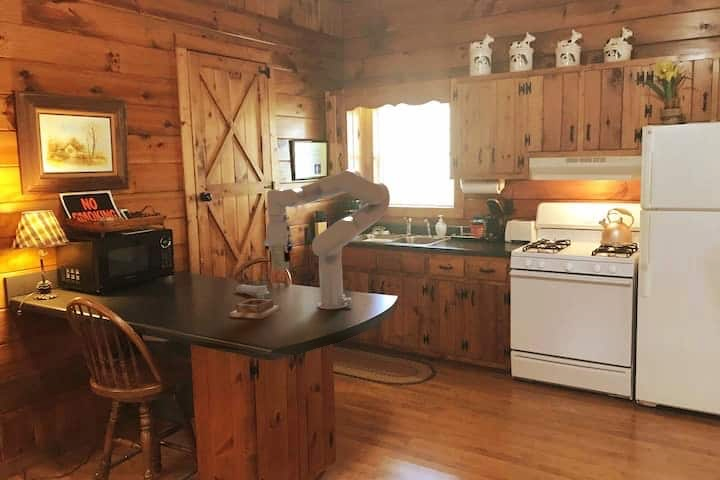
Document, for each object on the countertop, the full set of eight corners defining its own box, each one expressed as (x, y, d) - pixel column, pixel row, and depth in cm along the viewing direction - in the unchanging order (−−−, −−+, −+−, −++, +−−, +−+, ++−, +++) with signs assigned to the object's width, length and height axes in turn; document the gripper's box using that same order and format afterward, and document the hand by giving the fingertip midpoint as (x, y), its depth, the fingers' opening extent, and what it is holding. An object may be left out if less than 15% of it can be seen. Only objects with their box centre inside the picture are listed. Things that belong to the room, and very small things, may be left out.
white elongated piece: (243, 283, 292) (270, 282, 273) (245, 297, 292) (272, 297, 273) (233, 285, 289) (260, 284, 269) (235, 299, 289) (262, 299, 270)
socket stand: (280, 309, 251) (279, 298, 251) (261, 318, 238) (261, 307, 237) (249, 307, 257) (249, 297, 257) (229, 316, 243) (228, 305, 243)
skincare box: (289, 268, 256) (288, 240, 254) (284, 270, 252) (282, 241, 250) (277, 268, 259) (275, 240, 257) (271, 270, 255) (269, 241, 253)
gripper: (300, 218, 253) (302, 260, 255) (264, 218, 259) (267, 259, 262) (291, 219, 246) (293, 263, 248) (255, 220, 253) (257, 262, 255)
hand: (280, 260), depth 255 cm, fingers closed on skincare box, 6 cm apart
